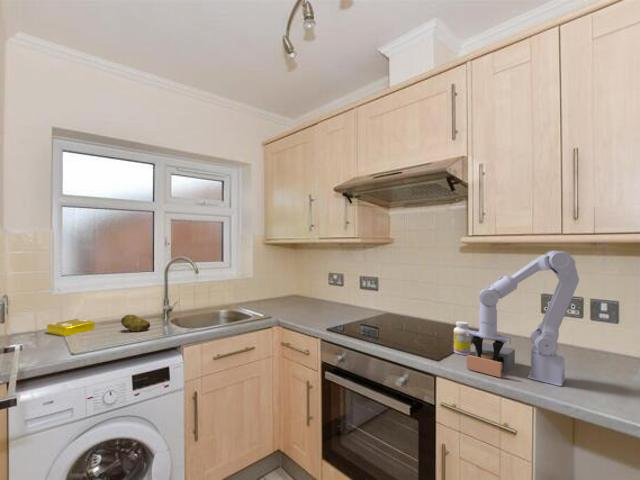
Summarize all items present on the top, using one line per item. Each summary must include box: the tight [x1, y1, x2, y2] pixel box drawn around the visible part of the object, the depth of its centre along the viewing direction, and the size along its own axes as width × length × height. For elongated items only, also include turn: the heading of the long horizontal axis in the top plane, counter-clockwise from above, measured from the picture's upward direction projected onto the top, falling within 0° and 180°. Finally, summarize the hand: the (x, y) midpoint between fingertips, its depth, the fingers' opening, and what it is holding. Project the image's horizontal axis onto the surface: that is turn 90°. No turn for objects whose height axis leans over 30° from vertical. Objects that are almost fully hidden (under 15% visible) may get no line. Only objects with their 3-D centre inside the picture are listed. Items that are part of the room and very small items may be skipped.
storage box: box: [474, 342, 516, 373], centre depth 126 cm, size 11×10×6 cm
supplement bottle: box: [453, 320, 472, 356], centre depth 139 cm, size 7×7×13 cm
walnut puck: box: [481, 353, 494, 361], centre depth 120 cm, size 5×5×2 cm
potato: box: [120, 314, 151, 332], centre depth 168 cm, size 8×13×8 cm, turn 80°
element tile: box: [46, 318, 95, 337], centre depth 166 cm, size 15×15×5 cm
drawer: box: [466, 354, 504, 378], centre depth 120 cm, size 11×10×5 cm
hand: (487, 359), depth 120 cm, fingers closed on walnut puck, 5 cm apart
